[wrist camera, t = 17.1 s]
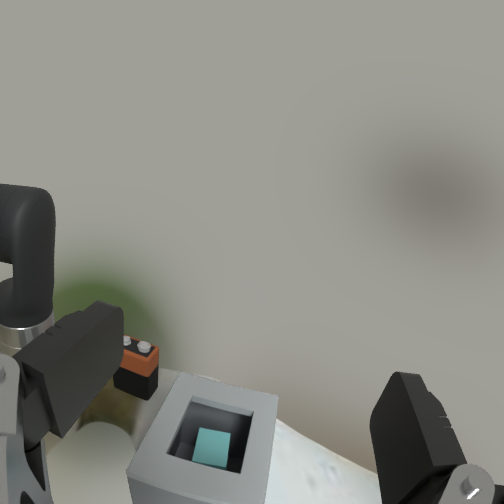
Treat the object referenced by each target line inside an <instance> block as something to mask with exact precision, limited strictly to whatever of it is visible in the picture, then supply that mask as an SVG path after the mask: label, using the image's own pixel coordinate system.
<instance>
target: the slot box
mask: <svg viewBox="0 0 504 504" xmlns="http://www.w3.org/2000/svg"><path fill="white" fill-rule="evenodd" d="M278 397H279V396H278V395H273V394H268V393H264V392H258V391H254V390H250V389H246V388H241V387H237V386H233V385H229V384H225V383H221V382H217V381H214V380H210V379H206V378H203V377H199V376H196V375H192V374H189V373H185V372H182V371H181V372H180V374H179V375H178V377H177V379H176V381H175V383H174V385H173V386H172V388H171V390H170V392H169V394H168V395H167V397H166V399H165V401H164V403H163V404H162V406H161V408H160V410H159V412H158V413H157V415H156V417H155V419H154V421H153V423H152V424H151V426H150V428H149V430H148V432H147V433H146V435H145V437H144V439H143V441H142V443H141V444H140V446H139V448H138V450H137V452H136V453H135V455H134V457H133V459H132V461H131V463H130V464H129V466H128V468H127V470H126V473H127V478H128V483H129V488H130V493H131V497H132V501H133V504H264V503H265V496H266V489H267V483H268V476H269V469H270V461H271V454H272V446H273V439H274V431H275V423H276V414H277V406H278ZM199 428H205V429H210V430H215V431H220V432H226V433H231V434H230V442H229V450H228V457H227V465H226V470H221V469H217V468H213V467H209V466H205V465H201V464H198V463H194V462H192V458H193V454H194V450H195V445H196V441H197V437H198V432H199Z"/></svg>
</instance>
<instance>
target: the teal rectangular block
mask: <svg viewBox="0 0 504 504" xmlns="http://www.w3.org/2000/svg"><path fill="white" fill-rule="evenodd" d="M230 434H231V433H226V432H220V431H215V430H210V429H205V428H199V432H198V437H197V441H196V445H195V450H194V454H193V458H192V462H194V463H198V464H201V465H205V466H209V467H213V468H217V469H221V470H226V465H227V457H228V450H229V442H230Z"/></svg>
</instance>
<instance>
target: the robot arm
mask: <svg viewBox="0 0 504 504" xmlns="http://www.w3.org/2000/svg"><path fill="white" fill-rule="evenodd" d="M55 226H56V221H55V207H54V203H53V200H52V197H51V195H50V194H49V193H48V192H47V191H46V190H44V189H41V188H36V187H28V186H17V185H9V184H0V262H4V263H9V264H12V265H13V277H12V278H9V279H6V280H4V281H2V282H0V351H1V352H0V504H53V500H52V496H51V491H50V485H49V478H48V470H47V462H46V452H45V442H44V439H43V437H44V436H45V434H46V433H47V432H48V431H50V432H52V433H53V434H55V435H57V436H59V437H60V438H63V437H64V436H65V434H66V433H67V432H68V431H69V429H70V428H71V427H72V425H73V424H74V423H75V422H76V420H77V419H78V418H79V417H80V415H81V414H82V413H83V412H84V410H85V409H86V408H87V407H88V405H89V404H90V403H91V402H92V400H93V399H94V398H95V397H96V396H97V394H98V393H99V392H100V391H101V389H102V388H103V387H104V386H105V384H106V383H107V382H108V381H109V380H110V378H111V377H112V376H113V375H114V373H115V372H116V371H117V370H118V368H119V367H120V365H121V362H122V359H123V354H124V329H123V327H124V326H123V323H124V321H123V320H124V319H123V318H124V317H123V310H122V309H121V308H120V307H117V306H114V305H111V304H108V303H105V302H103V301H96V302H94V303H93V304H92V305H90V306H89V307H88V308H87V309H85V310H84V311H77V312H75V313H72V314H69V315H66V316H64V317H63V318H61V319H60V320H59V321H57V322H56V323H55V321H54V312H53V302H52V297H53V288H54V246H55ZM446 416H447V415H446V413H445V411H444V408H443V406H442V405H441V403H440V402H439V400H438V399H437V398H436V397H435V396H434V395H433V394H432V393H431V392H428V391H427V389H426V386H425V384H424V382H423V380H422V378H421V376H420V375H419V374H412V373H403V372H395V373H393V374H392V376H391V377H390V379H389V381H388V383H387V385H386V387H385V389H384V391H383V393H382V395H381V397H380V398H379V400H378V402H377V404H376V406H375V407H374V410H373V412H372V414H371V418H370V432H371V438H372V443H373V448H374V454H375V460H376V466H377V472H378V478H379V485H380V492H381V498H382V504H504V486H502V485H495V484H494V482H493V480H492V478H491V476H490V475H489V474H488V473H487V472H486V471H485V470H484V469H483V468H481V467H479V466H477V465H473V464H467V461H466V459H465V457H464V454H463V452H462V449H461V447H460V444H459V442H458V440H457V438H456V435H455V433H454V430H453V429H452V428H451V424H450V421H449V419H448V418H446Z"/></svg>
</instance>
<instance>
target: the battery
mask: <svg viewBox="0 0 504 504" xmlns="http://www.w3.org/2000/svg"><path fill="white" fill-rule="evenodd" d="M158 359H159V348H158V347H157V346H154V345H152V344H149V343H148V342H143V341H140V340H138V339H135V338H132V337H130V336H127V335H124V354H123V359H122V362H121V365H120V367H119V368H118V370H117V371H116V372H115V373H114V375H113V380H114V386H115V387H116V388H118V389H120V390H123V391H125V392H127V393H130V394H132V395H135V396H137V397H139V398H142V399H144V400H149V399H150V397H151V396H152V394H153V393H154V391H155V390H156V389H157V387H158Z"/></svg>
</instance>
